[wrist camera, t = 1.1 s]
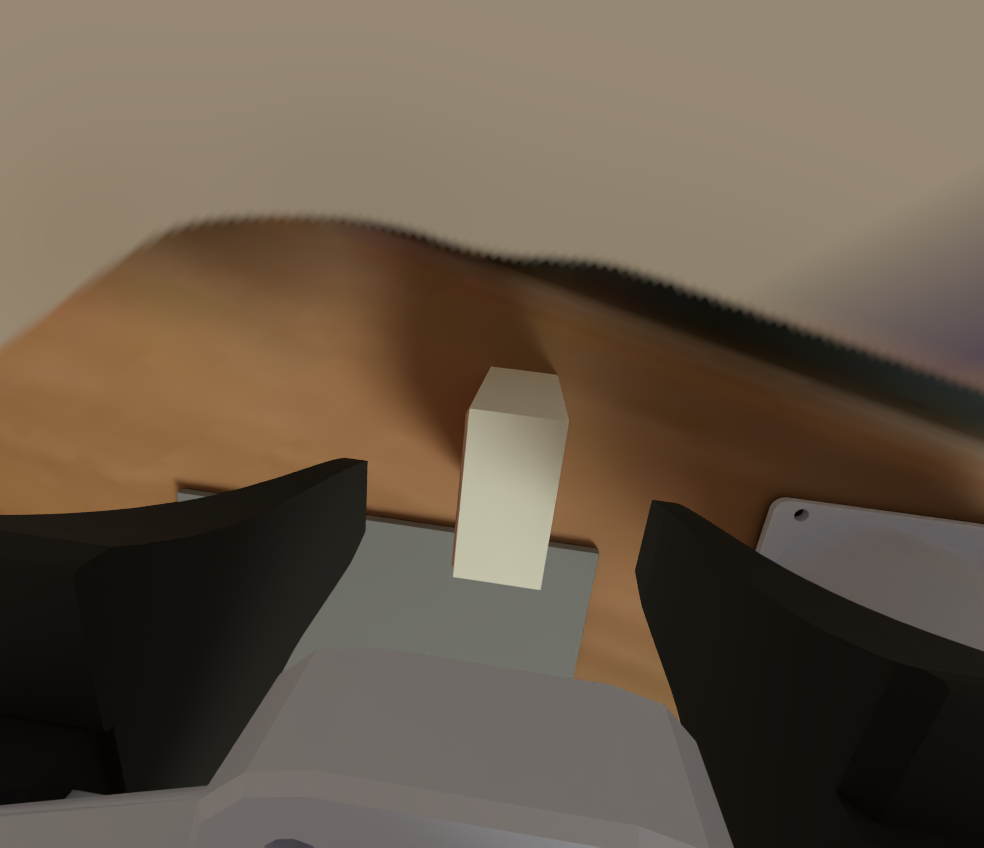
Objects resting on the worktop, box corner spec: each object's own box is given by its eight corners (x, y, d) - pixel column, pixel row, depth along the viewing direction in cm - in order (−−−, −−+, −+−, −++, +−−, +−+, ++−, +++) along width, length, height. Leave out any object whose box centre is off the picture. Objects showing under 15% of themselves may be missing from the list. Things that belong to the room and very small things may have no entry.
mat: (597, 548, 19) (599, 553, 19) (551, 772, 23) (551, 780, 22) (183, 488, 20) (176, 492, 19) (207, 713, 24) (202, 720, 23)
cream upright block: (557, 374, 17) (569, 421, 11) (538, 495, 19) (540, 590, 13) (488, 366, 17) (465, 408, 11) (475, 486, 19) (449, 576, 13)
